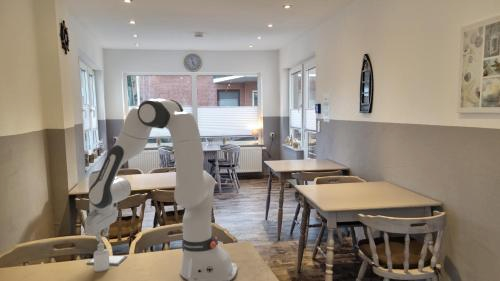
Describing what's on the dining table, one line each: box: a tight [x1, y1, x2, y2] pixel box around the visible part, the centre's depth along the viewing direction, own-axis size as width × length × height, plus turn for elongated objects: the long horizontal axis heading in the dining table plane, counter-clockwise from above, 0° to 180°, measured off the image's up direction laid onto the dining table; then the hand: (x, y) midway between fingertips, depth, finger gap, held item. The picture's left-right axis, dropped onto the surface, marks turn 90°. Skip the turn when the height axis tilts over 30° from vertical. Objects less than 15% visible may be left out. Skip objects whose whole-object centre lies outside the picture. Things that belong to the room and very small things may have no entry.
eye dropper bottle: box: [93, 240, 111, 273], centre depth 138 cm, size 4×6×12 cm
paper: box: [89, 255, 126, 263], centre depth 147 cm, size 12×7×1 cm, turn 84°
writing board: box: [86, 255, 128, 266], centre depth 147 cm, size 14×8×1 cm, turn 84°
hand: (102, 238), depth 148 cm, fingers open, 3 cm apart
